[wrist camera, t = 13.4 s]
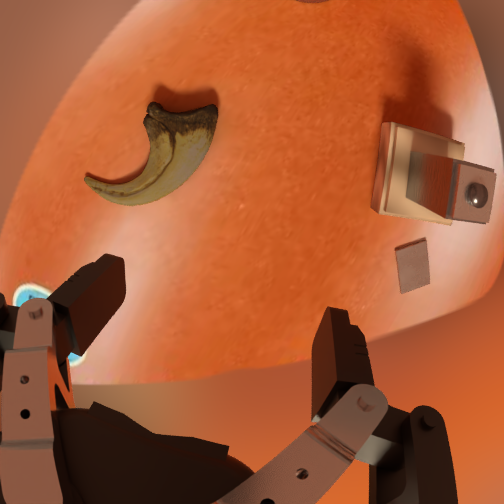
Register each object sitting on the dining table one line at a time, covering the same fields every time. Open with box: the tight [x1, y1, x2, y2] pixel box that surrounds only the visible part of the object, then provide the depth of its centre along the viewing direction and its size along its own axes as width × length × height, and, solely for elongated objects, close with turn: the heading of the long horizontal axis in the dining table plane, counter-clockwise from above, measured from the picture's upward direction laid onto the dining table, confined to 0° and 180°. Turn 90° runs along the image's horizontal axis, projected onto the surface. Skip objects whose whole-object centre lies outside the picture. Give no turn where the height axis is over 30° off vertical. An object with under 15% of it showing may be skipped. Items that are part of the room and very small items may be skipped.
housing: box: [406, 151, 496, 224], centre depth 25 cm, size 6×6×11 cm
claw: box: [84, 102, 218, 206], centre depth 34 cm, size 20×10×3 cm, turn 129°
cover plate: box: [395, 240, 430, 294], centre depth 39 cm, size 7×5×1 cm
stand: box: [371, 122, 465, 226], centre depth 32 cm, size 11×11×4 cm
